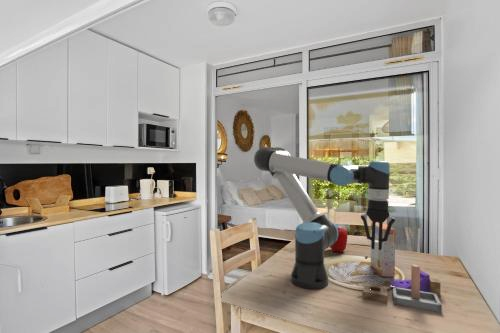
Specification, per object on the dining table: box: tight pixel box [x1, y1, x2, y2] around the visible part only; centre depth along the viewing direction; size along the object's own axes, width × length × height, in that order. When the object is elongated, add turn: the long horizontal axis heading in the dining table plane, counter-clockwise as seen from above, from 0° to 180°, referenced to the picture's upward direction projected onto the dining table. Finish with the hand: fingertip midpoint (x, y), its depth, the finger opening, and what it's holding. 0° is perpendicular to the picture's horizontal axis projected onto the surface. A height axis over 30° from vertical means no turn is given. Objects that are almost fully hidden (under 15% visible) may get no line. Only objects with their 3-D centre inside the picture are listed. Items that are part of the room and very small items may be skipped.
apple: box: [329, 227, 349, 253], centre depth 157 cm, size 11×10×14 cm
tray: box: [391, 287, 443, 313], centre depth 100 cm, size 14×9×2 cm, turn 66°
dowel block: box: [362, 282, 389, 304], centre depth 105 cm, size 8×8×2 cm
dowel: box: [410, 264, 421, 300], centre depth 100 cm, size 3×3×12 cm
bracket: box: [388, 269, 431, 293], centre depth 110 cm, size 12×7×7 cm, turn 97°
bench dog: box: [429, 277, 441, 297], centre depth 107 cm, size 3×4×5 cm
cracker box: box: [370, 222, 396, 278], centre depth 128 cm, size 14×6×21 cm, turn 175°
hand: (376, 257), depth 115 cm, fingers closed
